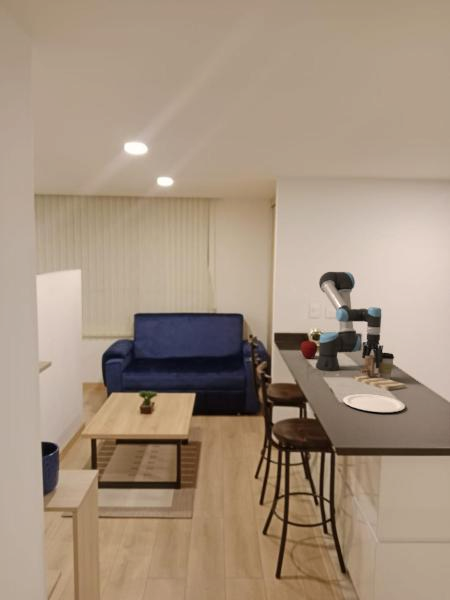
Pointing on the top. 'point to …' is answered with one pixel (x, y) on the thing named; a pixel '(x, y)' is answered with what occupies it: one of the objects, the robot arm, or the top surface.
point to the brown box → (369, 366)
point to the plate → (374, 403)
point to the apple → (308, 349)
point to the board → (379, 382)
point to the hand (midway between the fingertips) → (371, 371)
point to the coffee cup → (386, 365)
